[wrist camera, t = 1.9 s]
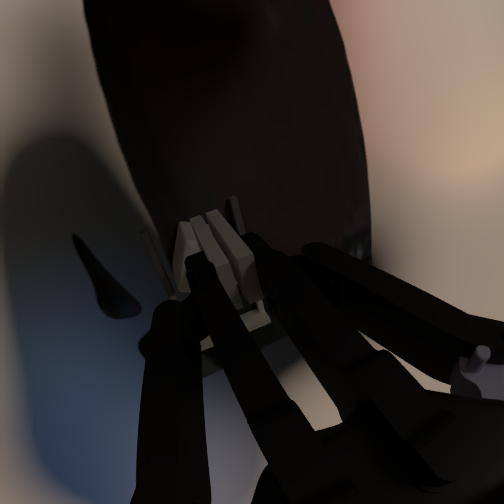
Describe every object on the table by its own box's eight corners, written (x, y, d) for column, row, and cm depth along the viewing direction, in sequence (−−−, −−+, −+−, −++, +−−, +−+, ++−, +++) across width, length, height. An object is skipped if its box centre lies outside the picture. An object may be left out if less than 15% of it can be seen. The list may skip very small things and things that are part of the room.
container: (217, 269, 46) (242, 317, 35) (171, 266, 42) (183, 317, 32) (226, 225, 43) (257, 264, 32) (178, 220, 40) (192, 260, 29)
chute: (140, 229, 38) (140, 240, 35) (233, 195, 41) (242, 202, 38) (192, 338, 50) (196, 352, 47) (262, 309, 54) (270, 322, 50)
